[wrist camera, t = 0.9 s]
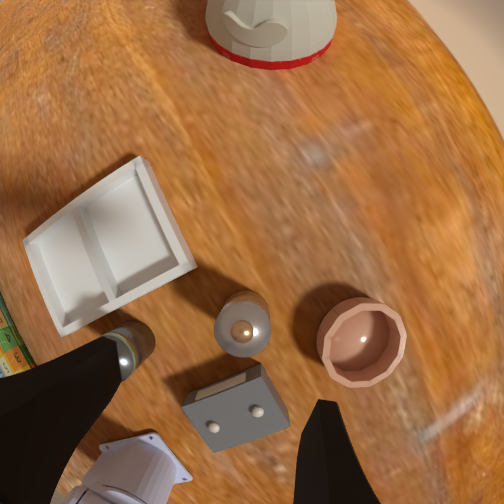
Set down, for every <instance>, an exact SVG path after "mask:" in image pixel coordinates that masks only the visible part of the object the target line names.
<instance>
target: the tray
mask: <svg viewBox="0 0 504 504" xmlns="http://www.w3.org/2000/svg"><path fill="white" fill-rule="evenodd" d="M23 243H24V246H25V249H26V252H27V255H28V258H29V261H30V264H31V267H32V270H33V273H34V276H35V278H36V281H37V284H38V286H39V289H40V291H41V294H42V296H43V299H44V301H45V304H46V306H47V308H48V311H49V313H50V315H51V317H52V320H53V322H54V324H55V326H56V328H57V330H58V332H59V334H60V336H61V338H62V337H64V336H66V335H68V334H70V333H72V332H74V331H76V330H78V329H80V328H82V327H84V326H86V325H88V324H90V323H91V322H93V321H95V320H97V319H99V318H101V317H103V316H105V315H107V314H109V313H110V312H112V311H114V310H116V309H118V308H120V307H122V306H124V305H126V304H128V303H130V302H132V301H133V300H135V299H137V298H139V297H141V296H143V295H145V294H147V293H149V292H151V291H153V290H155V289H157V288H159V287H161V286H162V285H164V284H166V283H168V282H170V281H172V280H174V279H176V278H178V277H180V276H182V275H184V274H186V273H188V272H190V271H192V270H194V269H196V268H198V266H197V264H196V262H195V260H194V258H193V256H192V254H191V252H190V250H189V248H188V246H187V244H186V241H185V239H184V237H183V235H182V233H181V231H180V229H179V227H178V225H177V223H176V221H175V218H174V216H173V214H172V212H171V210H170V208H169V206H168V203H167V201H166V199H165V197H164V195H163V192H162V190H161V188H160V186H159V184H158V181H157V179H156V177H155V175H154V172H153V170H152V168H151V166H150V163H149V162H148V161H147V160H145V159H144V158H143V157H141V156H138V157H136V158H135V159H133V160H131V161H130V162H128V163H127V164H125V165H123V166H122V167H120V168H119V169H117V170H116V171H114V172H113V173H111V174H110V175H108V176H107V177H105V178H104V179H102V180H101V181H99V182H98V183H96V184H95V185H93V186H92V187H90V188H89V189H88V190H86V191H85V192H83V193H82V194H81V195H79V196H78V197H76V198H75V199H74V200H72V201H71V202H70V203H68V204H67V205H66V206H64V207H63V208H62V209H60V210H59V211H58V212H57V213H55V214H54V215H53V216H51V217H50V218H49V219H48V220H46V221H45V222H44V223H43V224H41V225H40V226H39V227H38V228H37V229H35V230H34V231H33V232H32V233H31V234H29V235H28V236H27V237H26V238H25V239H24V240H23Z"/></svg>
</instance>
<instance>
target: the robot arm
mask: <svg viewBox="0 0 504 504" xmlns="http://www.w3.org/2000/svg"><path fill="white" fill-rule="evenodd" d="M121 381H122V376H121V371H120V364H119V358H118V351H117V343H116V341H113V340H111V339H109V338H106V337H104V336H102V337H100V338H98V339H96V340H93V341H91V342H89V343H87V344H85V345H83V346H81V347H79V348H77V349H75V350H73V351H71V352H69V353H66V354H64V355H62V356H60V357H58V358H56V359H54V360H51V361H49V362H46V363H44V364H41V365H39V366H37V367H34V368H32V369H29V370H26V371H23V372H20V373H17V374H13V375H10V376H6V377H2V378H0V504H50V502H51V499H52V496H53V494H54V491H55V489H56V486H57V484H58V481H59V479H60V477H61V475H62V473H63V471H64V469H65V467H66V465H67V463H68V461H69V459H70V457H71V456H72V454H73V452H74V450H75V448H76V447H77V445H78V444H79V442H80V441H81V439H82V438H83V437H84V435H85V434H86V433H87V431H88V430H89V429H90V427H91V426H92V425H93V424H94V422H95V421H96V420H97V418H98V417H99V416H100V414H101V413H102V412H103V410H104V409H105V408H106V406H107V405H108V404H109V402H110V401H111V399H112V398H113V396H114V394H115V392H116V391H117V389H118V387H119V385H120V383H121ZM150 436H151V437H153V438H151V437H150ZM107 446H108V447H107ZM99 449H100V450H101V451H102V454H101V455H100V456H99V458H98V459H97V460H96V461H95V463H94V464H93V465H92V467H91V468H90V469H89V471H88V472H87V473H86V475H85V476H84V478H83V480H82V484H81V486H76V487H74V488H73V489H72V490H71V492H70V493H69V494H68V495H67V497H66V498H65V500H64V501H63V503H62V504H166V503H167V500H168V498H169V495H170V492H171V490H172V487H173V484H177V483H182V482H187V481H191V480H192V479H193V477H192V475H191V474H190V473H189V472H188V471H187V470H186V468H185V467H184V466H183V465H182V464H181V462H180V461H179V460H178V459H177V458H176V456H175V455H174V454H173V453H172V451H171V450H170V449H169V447H168V446H167V445H166V444H165V442H164V441H163V440H162V438H161V437H160V436H159V434H158V433H156V432H151V433H147V434H143V435H139V436H135V437H131V438H127V439H122V440H118V441H113V442H109V443H104V444H100V445H99ZM185 478H186V479H185ZM293 504H381V503H380V502H379V500H378V498H377V497H376V495H375V493H374V491H373V490H372V488H371V486H370V484H369V482H368V480H367V478H366V476H365V474H364V472H363V470H362V468H361V465H360V463H359V461H358V459H357V456H356V454H355V451H354V449H353V446H352V444H351V441H350V439H349V436H348V433H347V431H346V428H345V425H344V422H343V419H342V416H341V413H340V410H339V406H338V404H337V402H334V401H327V400H321V399H318V401H317V403H316V405H315V407H314V409H313V412H312V414H311V416H310V418H309V420H308V422H307V424H306V426H305V428H304V430H303V431H302V434H301V439H300V445H299V450H298V456H297V465H296V478H295V490H294V502H293Z"/></svg>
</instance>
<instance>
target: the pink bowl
mask: <svg viewBox="0 0 504 504" xmlns="http://www.w3.org/2000/svg"><path fill="white" fill-rule="evenodd" d="M406 337H407V334H406V331H405V328H404V325H403V322H402V320H401V317H400V315H399V314H397V313H396V312H394V311H393V310H392V309H390V308H389V307H387V306H386V305H385V304H383V303H381V302H379V301H377V300H375V299H371V298H366V297H354V298H350V299H347V300H344V301H342V302H340V303H338V304H337V305H335V306H334V307H333V308H332V309H331V310H330V311H329V312H328V313H327V314H326V315H325V317H324V318H323V320H322V321H321V324H320V326H319V329H318V332H317V337H316V345H317V351H318V354H319V357H320V359H321V360H322V362H323V363H324V366H325V368H326V369H327V371H328V373H329V375H330V377H331V378H332V379H334V380H335V381H337V382H339V383H341V384H343V385H345V386H346V387H349V388H354V387H370V386H372V385H374V384H375V383H377V382H379V381H381V380H382V379H384V378H386V377H387V376H389V375H390V374H391V373H392V371H393V370H394V368H395V367H396V366H397V364H398V363H399V361H400V360H401V359H402V356H403V354H404V348H405V343H406Z"/></svg>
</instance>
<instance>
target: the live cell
mask: <svg viewBox="0 0 504 504" xmlns="http://www.w3.org/2000/svg"><path fill="white" fill-rule="evenodd" d="M102 336H104V337H106V338H109V339H111V340H113V341H116V343H117V351H118V358H119V364H120V371H121V376H122V381H124V380H126V379H127V378H128V377H129V376H130V375H131V374H132V373H133V372H134V371H135V370H136V369H137V368H138V367H139V366H140V365H141V364H142V363H143V362H144V361H145V360H146V359H147V358H148V357H149V356H150V355H151V354H152V352H153V351H154V348H155V337H154V334H153V332H152V331H151V329H150V328H149V327H148V326H147V325H146V324H145V323H143V322H141V321H138V320H129V321H127V322H125V323H123V324H122V325H120V326H118V327H116V328H115V329H113V330H111V331H109V332H108V333H105V334H104V335H102ZM102 336H100V337H102ZM100 337H98V338H100ZM98 338H97V339H98ZM122 381H121V382H122Z"/></svg>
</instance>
